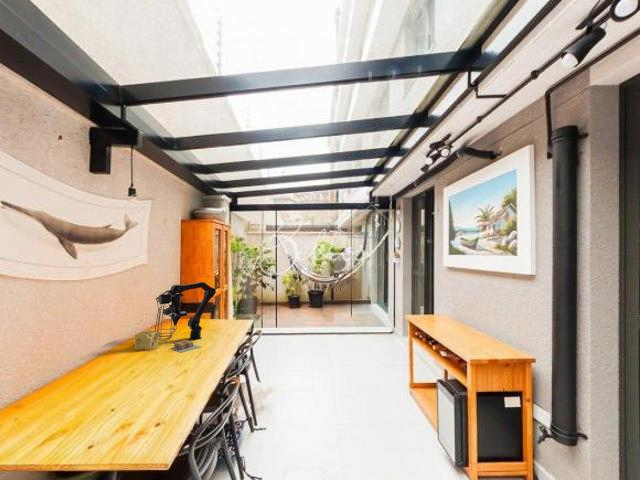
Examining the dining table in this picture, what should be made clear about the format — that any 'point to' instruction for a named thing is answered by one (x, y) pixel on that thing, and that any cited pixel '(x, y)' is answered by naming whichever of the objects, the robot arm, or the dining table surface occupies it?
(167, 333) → the geometric lantern
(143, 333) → the cheese
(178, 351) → the grey mat
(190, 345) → the walnut slab
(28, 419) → the dining table surface
